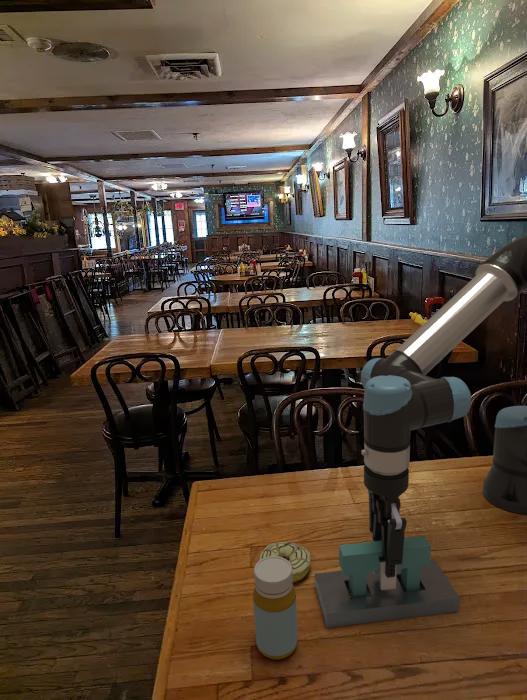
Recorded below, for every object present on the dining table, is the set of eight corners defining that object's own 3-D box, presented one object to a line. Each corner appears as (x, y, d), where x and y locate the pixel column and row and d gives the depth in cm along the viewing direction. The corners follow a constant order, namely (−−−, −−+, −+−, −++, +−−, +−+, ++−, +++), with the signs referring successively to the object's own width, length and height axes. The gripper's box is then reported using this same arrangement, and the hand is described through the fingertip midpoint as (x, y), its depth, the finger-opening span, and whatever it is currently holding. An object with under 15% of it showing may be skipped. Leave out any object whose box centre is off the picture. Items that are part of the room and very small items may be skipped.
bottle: (294, 665, 78) (291, 586, 74) (252, 659, 79) (246, 581, 75) (300, 629, 84) (297, 556, 80) (260, 625, 86) (256, 552, 82)
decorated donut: (297, 547, 106) (297, 532, 105) (320, 578, 96) (319, 562, 95) (252, 560, 103) (251, 544, 102) (271, 594, 93) (270, 578, 92)
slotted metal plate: (434, 572, 96) (434, 559, 95) (458, 611, 86) (459, 597, 86) (315, 586, 94) (314, 573, 93) (326, 628, 84) (326, 613, 84)
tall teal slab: (422, 581, 92) (423, 535, 89) (428, 593, 89) (430, 546, 86) (339, 591, 91) (339, 545, 88) (343, 603, 88) (343, 556, 85)
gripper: (351, 446, 91) (352, 554, 97) (380, 492, 75) (378, 617, 81) (390, 443, 91) (389, 550, 97) (427, 488, 76) (422, 611, 82)
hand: (384, 580), depth 89 cm, fingers closed on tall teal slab, 3 cm apart
